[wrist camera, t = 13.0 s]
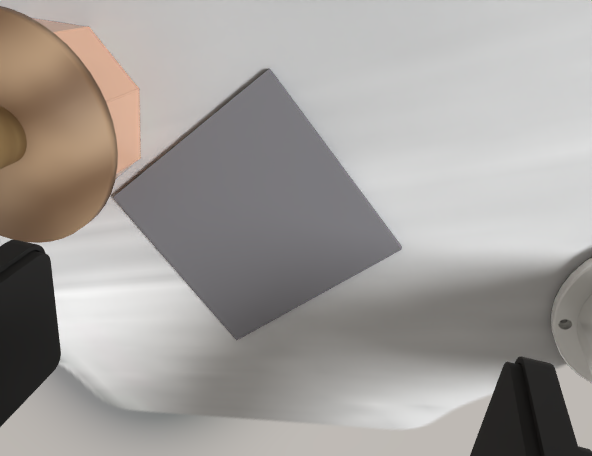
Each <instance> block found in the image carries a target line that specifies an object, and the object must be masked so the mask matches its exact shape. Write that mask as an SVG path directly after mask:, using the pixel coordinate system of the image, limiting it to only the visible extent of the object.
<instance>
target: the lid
mask: <svg viewBox="0 0 592 456" xmlns="http://www.w3.org/2000/svg"><path fill="white" fill-rule="evenodd" d="M117 164H118V149H117V139H116V133H115V129H114V124H113V120H112V117H111V114H110V111H109V108H108V105H107V103H106V101H105V99H104V96H103V94H102V92H101V90H100V88H99V86H98V85H97V83H96V81H95V80H94V78H93V76H92V74H91V73H90V71H89V70H88V69H87V67H86V66H85V65H84V63H83V62H82V61H81V59H80V58H79V57H78V56H77V55H76V54H75V53H74V51H73V50H72V49H71V48H70V47H69V46H68V45H67V44H66V43H65V42H64V41H63V40H61V39H60V38H59V37H58V36H57V35H56V34H55V33H53V32H52V31H51V30H49V29H48V28H46V27H45V26H44V25H42V24H41V23H39V22H37V21H36V20H34V19H32V18H30V17H28V16H26V15H25V14H22V13H20V12H17V11H14V10H12V9H9V8H5V7H1V6H0V236H3V237H7V238H10V239H13V240H19V241H24V242H39V243H40V242H49V241H54V240H58V239H62V238H64V237H67V236H69V235H71V234H73V233H75V232H76V231H78V230H79V229H81V228H82V227H84V226H85V225H86V224H88V223H89V222H90V221H91V220H93V219H94V218H95V217H96V216H97V215H98V214H99V212H100V211H101V210H102V208H103V207H104V206H105V204H106V202H107V200H108V198H109V196H110V194H111V192H112V189H113V186H114V183H115V179H116V172H117Z"/></svg>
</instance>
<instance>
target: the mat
mask: <svg viewBox="0 0 592 456" xmlns="http://www.w3.org/2000/svg"><path fill="white" fill-rule="evenodd" d="M113 198H114V199H115V201H116V202H117V203H118V204H119V205H120V206H121V207H122V209H123V210H124V211H125V212H126V213H127V214H128V216H129V217H130V218H131V219H132V220H133V221H134V222H135V224H136V225H137V226H138V227H139V228H140V229H141V231H142V232H143V233H144V234H145V235H146V236H147V237H148V239H149V240H150V241H151V242H152V243H153V244H154V246H155V247H156V248H157V249H158V250H159V251H160V252H161V254H162V255H163V256H164V257H165V258H166V259H167V261H168V262H169V263H170V264H171V265H172V266H173V267H174V269H175V270H176V271H177V272H178V273H179V274H180V276H181V277H182V278H183V279H184V280H185V281H186V282H187V284H188V285H189V286H190V287H191V288H192V289H193V290H194V292H195V293H196V294H197V295H198V296H199V297H200V299H201V300H202V301H203V302H204V303H205V304H206V305H207V307H208V308H209V309H210V310H211V311H212V312H213V314H214V315H215V316H216V317H217V318H218V319H219V320H220V322H221V323H222V324H223V325H224V326H225V327H226V329H227V330H228V331H229V332H230V333H231V334H232V335H233V337H234V338H235V339H236V340H238V339H240V338H241V337H243V336H245V335H247V334H249V333H251V332H252V331H254V330H256V329H258V328H260V327H261V326H263V325H265V324H267V323H269V322H271V321H272V320H274V319H276V318H278V317H280V316H281V315H283V314H285V313H287V312H289V311H291V310H292V309H294V308H296V307H298V306H300V305H301V304H303V303H305V302H307V301H309V300H311V299H312V298H314V297H316V296H318V295H320V294H321V293H323V292H325V291H327V290H329V289H331V288H332V287H334V286H336V285H338V284H340V283H341V282H343V281H345V280H347V279H349V278H351V277H352V276H354V275H356V274H358V273H360V272H361V271H363V270H365V269H367V268H369V267H371V266H372V265H374V264H376V263H378V262H380V261H381V260H383V259H385V258H387V257H389V256H391V255H392V254H394V253H396V252H398V251H400V250H401V248H402V246H401V245H400V244H399V242H398V241H397V240H396V238H395V237H394V236H393V234H392V233H391V231H390V230H389V229H388V227H387V226H386V225H385V223H384V222H383V221H382V219H381V218H380V217H379V215H378V214H377V213H376V211H375V210H374V209H373V207H372V206H371V205H370V203H369V202H368V200H367V199H366V198H365V196H364V195H363V194H362V192H361V191H360V190H359V188H358V187H357V186H356V184H355V183H354V182H353V180H352V179H351V178H350V176H349V175H348V173H347V172H346V171H345V169H344V168H343V167H342V165H341V164H340V163H339V161H338V160H337V159H336V157H335V156H334V155H333V153H332V152H331V151H330V149H329V148H328V146H327V145H326V144H325V142H324V141H323V140H322V138H321V137H320V136H319V134H318V133H317V132H316V130H315V129H314V128H313V126H312V125H311V124H310V122H309V121H308V119H307V118H306V117H305V115H304V114H303V113H302V111H301V110H300V109H299V107H298V106H297V105H296V103H295V102H294V101H293V99H292V98H291V97H290V95H289V94H288V92H287V91H286V90H285V88H284V87H283V86H282V84H281V83H280V82H279V80H278V79H277V78H276V76H275V75H274V74H273V72H272V71H271V70H270V69H268V70H267V71H266V72H264V73H263V74H262V75H261V76H260V77H258V78H257V79H256V80H255V81H254V82H252V83H251V84H250V85H249V86H247V87H246V88H245V89H244V90H243V91H241V92H240V93H239V94H238V95H237V96H235V97H234V98H233V99H232V100H230V101H229V102H228V103H227V104H226V105H224V106H223V107H222V108H221V109H220V110H218V111H217V112H216V113H215V114H213V115H212V116H211V117H210V118H209V119H207V120H206V121H205V122H204V123H203V124H201V125H200V126H199V127H198V128H196V129H195V130H194V131H193V132H192V133H190V134H189V135H188V136H187V137H186V138H184V139H183V140H182V141H181V142H179V143H178V144H177V145H176V146H175V147H173V148H172V149H171V150H170V151H169V152H167V153H166V154H165V155H164V156H162V157H161V158H160V159H159V160H158V161H156V162H155V163H154V164H153V165H152V166H150V167H149V168H148V169H147V170H145V171H144V172H143V173H142V174H141V175H139V176H138V177H137V178H136V179H134V180H133V181H132V182H131V183H130V184H128V185H127V186H126V187H125V188H124V189H122V190H121V191H120V192H119V193H117V194H116V195H115V196H114V197H113Z"/></svg>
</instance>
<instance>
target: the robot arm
mask: <svg viewBox="0 0 592 456" xmlns="http://www.w3.org/2000/svg"><path fill="white" fill-rule="evenodd" d="M551 329H552V333H553V336H554V340H555V343H556V345H557V348H558V351H559V353H560V355H561V356H562V357H563V359H564V360H565V362H566V363H567V365H568V366H569V367H570V368H572V369H573V370H574V371H575V372H576V373H577V374H578V375H579V376H581V377H582V378H584V379H586V380H587V381H589V382H590V383H592V258H590V259H589V260H587V261H585V262H584V263H583V264H582V265H580V266H579V267H578V268H577V269H576V270H575V271H574V272H572V273H571V275H570V276H569V277H568V278H567V280H566V281H565V282H564V283H563V285H562V286H561V288H560V290H559V292H558V294H557V296H556V298H555V300H554V304H553V308H552V312H551ZM60 356H61V351H60V342H59V333H58V324H57V315H56V306H55V297H54V287H53V278H52V269H51V261H50V257H49V256H48V255H47V254H45V251H44V249H43V248H42V247H41V246H39V245H36V244H32V243H28V242H23V241H19V240H11V241H8V242H7V243H5V244H3V245H2V246H0V427H1V426H2V425H3V424H4V422H5V421H6V420H7V419H8V418H9V417H10V416H11V415H12V414H13V413H14V412H15V411H16V410H17V409H18V408H19V407H20V406H21V405H22V404H23V403H24V402H25V400H26V399H27V398H28V397H29V396H30V395H31V394H32V393H33V392H34V391H35V390H36V389H37V388H38V387H39V386H40V385H41V384H42V383H43V381H45V379H47V377H48V376H49V375H50V374H51V373H52V372H53V371H54V370H55V369H56V367H57V365H58V363H59V361H60ZM470 456H592V451H591V450H590V449H586V448H582V447H578V445H577V442H576V438H575V435H574V432H573V428H572V425H571V421H570V418H569V415H568V412H567V408H566V405H565V401H564V398H563V395H562V391H561V388H560V385H559V381H558V378H557V374H556V371H555V368H554V366H553V365H552V364H550V363H546V362H542V361H537V360H533V359H529V358H524V357H518V359H517V360H516V362H515V363H511V362H506V363H505V364H504V366H503V368H502V371H501V374H500V377H499V379H498V382H497V385H496V387H495V390H494V393H493V395H492V398H491V401H490V403H489V406H488V409H487V412H486V414H485V417H484V420H483V422H482V425H481V428H480V431H479V433H478V436H477V438H476V441H475V444H474V447H473V449H472V452H471V455H470Z"/></svg>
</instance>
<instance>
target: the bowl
mask: <svg viewBox="0 0 592 456" xmlns="http://www.w3.org/2000/svg"><path fill="white" fill-rule="evenodd" d="M32 19H34V20H36V21H37V22H39V23H41V24H42V25H44V26H45V27H46V28H48V29H49V30H51V31H52V32H53V33H55V34H56V35H57V36H58V37H59V38H60V39H61V40H63V41H64V42H65V43H66V44H67V45H68V46H69V47H70V48H71V49H72V50H73V51H74V53H75V54H76V55H77V56H78V57H79V58H80V59H81V61H82V62H83V63H84V65H85V66H86V67H87V69H88V70H89V71H90V73H91V74H92V76H93V78H94V80H95V81H96V83H97V85H98V86H99V88H100V90H101V92H102V94H103V96H104V99H105V101H106V103H107V105H108V108H109V111H110V114H111V117H112V120H113V124H114V129H115V133H116V139H117V149H118V164H117V172H116V178H117V177H118V176H120V175H121V174H122V173H123V172H124V171H126V170H127V169H128V168H129V167H130V166H131V165H133V164H134V163H135V162H136V161H137V160H139V159H141V155H140V106H139V90H140V89H139V88H138V87H137V86H136V84H135V83H134V82H133V81H132V79H131V78H130V77H129V76H128V75H127V73H126V72H125V71H124V70H123V68H122V67H121V66H120V65H119V63H118V62H117V61H116V60H115V58H114V57H113V56H112V55H111V54H110V52H109V51H108V50H107V49H106V47H105V46H104V45H103V44H102V42H101V41H100V40H99V39H98V38H97V36H96V35H95V34H94V33H93V31H92V30H91V29H90V27H89V26H88V27H85V26H79V25H73V24H66V23H60V22H54V21H47V20H41V19H35V18H32Z"/></svg>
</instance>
